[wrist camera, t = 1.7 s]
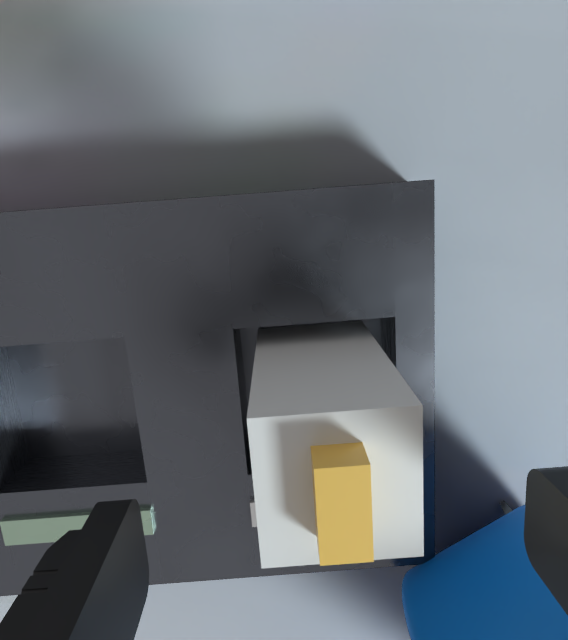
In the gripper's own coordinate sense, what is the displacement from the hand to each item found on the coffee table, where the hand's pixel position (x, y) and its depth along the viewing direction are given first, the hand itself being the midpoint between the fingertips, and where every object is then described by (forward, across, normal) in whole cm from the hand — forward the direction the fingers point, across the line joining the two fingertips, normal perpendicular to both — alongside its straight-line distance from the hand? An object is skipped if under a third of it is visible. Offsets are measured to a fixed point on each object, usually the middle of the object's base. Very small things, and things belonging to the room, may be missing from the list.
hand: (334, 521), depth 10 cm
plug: (+10, 0, 0) cm, 10 cm away
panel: (+10, +4, 0) cm, 11 cm away
